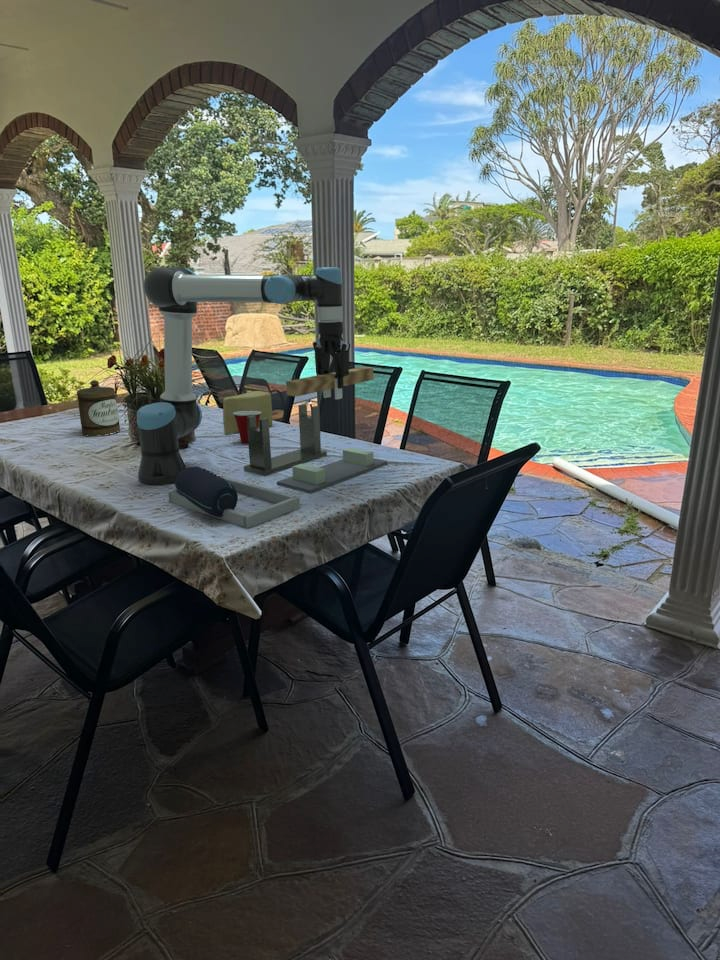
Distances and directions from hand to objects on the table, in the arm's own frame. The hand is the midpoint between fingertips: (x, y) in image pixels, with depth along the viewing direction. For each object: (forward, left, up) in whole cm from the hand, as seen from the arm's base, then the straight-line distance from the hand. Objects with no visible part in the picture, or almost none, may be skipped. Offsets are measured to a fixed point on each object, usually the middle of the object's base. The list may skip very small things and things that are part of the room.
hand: (332, 397), depth 200 cm
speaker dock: (-39, +4, -25) cm, 47 cm away
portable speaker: (-45, +8, -25) cm, 52 cm away
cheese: (+25, +72, -25) cm, 80 cm away
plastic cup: (+12, +55, -25) cm, 62 cm away
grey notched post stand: (0, +22, -25) cm, 33 cm away
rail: (0, 0, +3) cm, 3 cm away
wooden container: (-14, +118, -25) cm, 122 cm away
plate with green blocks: (0, 0, -25) cm, 25 cm away
